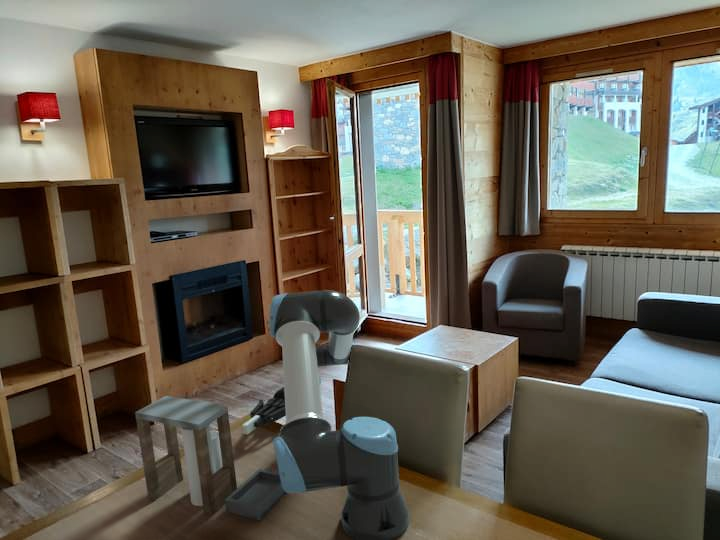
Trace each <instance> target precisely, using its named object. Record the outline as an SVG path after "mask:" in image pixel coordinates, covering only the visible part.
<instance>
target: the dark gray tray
mask: <svg viewBox="0 0 720 540" xmlns="http://www.w3.org/2000/svg"><path fill="white" fill-rule="evenodd" d="M287 494H288V493H287V492H285V491H284V490H283V488H282V486H281V480H280V475H279V472H276V471H271V470H267V469H263V468H258V469H257V470H256V471H255V472H254V473H253V474H252V475H251V476H249V477H248V478H247V479H246V480H245V481H244V482H243V483H241V484H240V486H237V489H236V490H235V491H234V492H233V493H232V494H231V495H230V496H228V497H227V498H226V499H225V505H224V506H225V511H226V512H228V513H232V514H236V515H239V516H242V517H246V518H250V519H254V520H257V521H262V520H263V519H264V517H266V516H267V514H268V513H270V511H271V510H272V509H273V508H274V507H275V506H276V505H277V504H278V503H279V502H280V501H281V500H282V499H283V498H284V497H285V496H286V495H287ZM284 495H285V496H284ZM283 496H284V497H283ZM282 497H283V498H282ZM281 498H282V499H281ZM280 499H281V500H280ZM279 500H280V501H279ZM262 518H263V519H262Z"/></svg>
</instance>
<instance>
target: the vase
mask: <svg viewBox="0 0 720 540" xmlns="http://www.w3.org/2000/svg"><path fill="white" fill-rule="evenodd" d="M210 424H211V423H210ZM210 424H209V425H207V426H206V433H207V441H208V448H209V456H210V464H211V472H212V475H213V474H214V473H215V472H217V471H218V470H219V469H220V468H222V467H223V466H222V458H221V449H220V441H219V433H218V431H217V430H212V431H211V427H210ZM180 432H181V438H182V446H183V453H184V459H185V467H186V474H187V475H186V476H187V480H188V488H189V489H188V490H189V497H190V503H191V504H192V505H193V506H196V507H203V501H202V493H201V486H200V478H199V471H198V463H197V456H196V448H195V441H194V433H193V429H189V428H184V427H180Z"/></svg>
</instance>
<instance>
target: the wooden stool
mask: <svg viewBox="0 0 720 540" xmlns="http://www.w3.org/2000/svg"><path fill="white" fill-rule="evenodd" d="M228 409H229V407H228V405H225V404H219V403H213V402H207V401H206V402H205V401H199V400H196V399H195V400H193V399H188V398H181V397H175V396H169V395H165V396H163V397H161V398H159V399H158V400H156V401H153V402H152V403H149V404H148V405H146V406H145V407H143V408H140V409H138V410H137V411H135V412H134V413H135V421H136V426H137V427H136V428H137V434H138V438H139V446H140V451H141V452H140V453H141V458H142V460H141V461H142V464H143V465H142V466H143V471H144V479H145V484H146V491H147V497H148V500H149V501H153V502H155V501H157V500H158V499H159V498H161V497H162V496H164V495H165V494H166V493H167V492H168V491H170V490H171V489H172V488H174V487H175V486H177V485H178V484H179V483H180V482H182V481H183V480H184V476H183V475H184V474H183V468H182V461H181V454H180V447H179V440H178V439H179V438H178V432H177V431H178V430H177V427H179V428H181V427H184V428H189V429H193V433H194V441H195V448H196V456H197V463H198V471H199V478H200V486H201V493H202V501H203V506H202V507H203V515H204V516H206V517H209V518H212V517H213V516H214V515H216V513H217V512H219V510H221V509H222V508H223V507H224V506H225V499H226V498H227V497H228V496H230V495H231V494H232V493H233V492H234V491H235V490H236V489H237V488H238V484H237V483H238V482H237V477H236V476H237V475H236V468H235V459H234V458H235V457H234V450H233V444H232V443H233V441H232V434H231V427H230V425H231V424H230V417H229V410H228ZM214 421H216V423H217V430H218V433H219V441H220V449H221V458H222V466H223V467H222V468H220V469H219V470H218V471H217V472H215V473H214V474H213V475H212V472H211V464H210V456H209V448H208V441H207V433H206V426H207V425H209V424H211V423H213V422H214ZM150 422H153V423H159V424H163V430H164V434H165V435H164V437H165V442H166V449H167V454H166V455H165V456H164V457H162V458H159V460H158V461H156V457H155V452H154V451H155V450H154V449H155V448H154V444H153V437H152V430H151V423H150Z"/></svg>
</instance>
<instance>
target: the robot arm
mask: <svg viewBox="0 0 720 540" xmlns="http://www.w3.org/2000/svg"><path fill="white" fill-rule="evenodd" d="M360 316H361V315H360V311H359V308H358V306H357V305H356V303H355V302H354V301H353V300H352V299H351V298H350V297H349V296H347V295H346V294H344V293H342V292H340V291H336V290H331V289H323V290H311V291H300V292H293V293H292V292H290V293H289V292H285V293H282V294H277V295H275V296H273V298H271V302H270V307H269V322H268V323H269V334H270V336H271V338H273V339H275V341H276V342H277V343H278V345H280V347H281V348H282V352H281V353H282V369H283V386H282V387H281V388H280V389H278V390H277V391H275V393H274V395H273V397H272V398H269V399H268V400H265V401H264V400H263V399H260V400H258V403H257V404H256V406H255V407H254V408H253V409H252V410H251V411H250V413H249V414H250V415H249V416H250V418H249V419H247V421H246V422H244V423H243V424H242V425H241V426H242V432H243V434H244V435H249V434H250V433H252V432H253V431H254V430H255V429H257V428H260V426H262V425H265V424H268V425H271V424H273V423H275V422H277V421H278V420H280V419H283V418H284V417H285V423H284V424H283V425H282V426H281V428H280V431H279V436H277V437H275V438H274V439H273V447H274V451H275V452H274V453H275V456H276V457H275V458H276V463H277V464H276V465H277V468H278V473H279V475H280V480H281V486H282V488H283V490H284V491H285V492H287V493H286V494H297V493H302V494H305V493H309V492H314V491H321V490H327V489H335V488H341V487H342V488H343V487H346V488H347V490H346V494H345V499H344V502H343V505H342V509H341V515H340V516H341V525H342V528H343V531H344V532H345V533H346V534H347V535H348V536H349V537H350V538H352V539H353V540H394V539H396V538H398V537H399V536H401V535H402V534H403V533H404V532H405V531H406V530H407V528H408V526H409V523H410V513H409V506H408V505H407V502H406V500H405V497H404V495H403V492H402V490H401V487H400V478H399V477H400V476H399V475H400V474H399V457H398V452H399V445H398V442H397V441H398V440H397V435H396V431H395V428H394V427H393V426H392V425H391V424H390V423H388V422H387V421H385V420H382V419H380V418H377V417H372V416H355V417H352V418H350V419H348V420H345V421H344V423H343V424H342V427H341V429H338V430H337V429H336V430H332V426H331V423H330V422H329V421H328V420H327V419H325V418H324V413H323V403H322V394H321V393H322V392H321V382H322V379H321V376H320V375H319V374H320V373H319V368H322V367H332V366H339V365H340V366H342V365H348V360H349V354H350V352H351V347H352V345H355V346H356V344H355V342H354V341H353V339H354V334H355V331H356V330H357V328H358V326H359V324H360V320H361V319H360V318H361V317H360ZM325 333H328V343H323V344H316V343H317V342H318V341H319V339H320V336H321V334H325Z"/></svg>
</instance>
